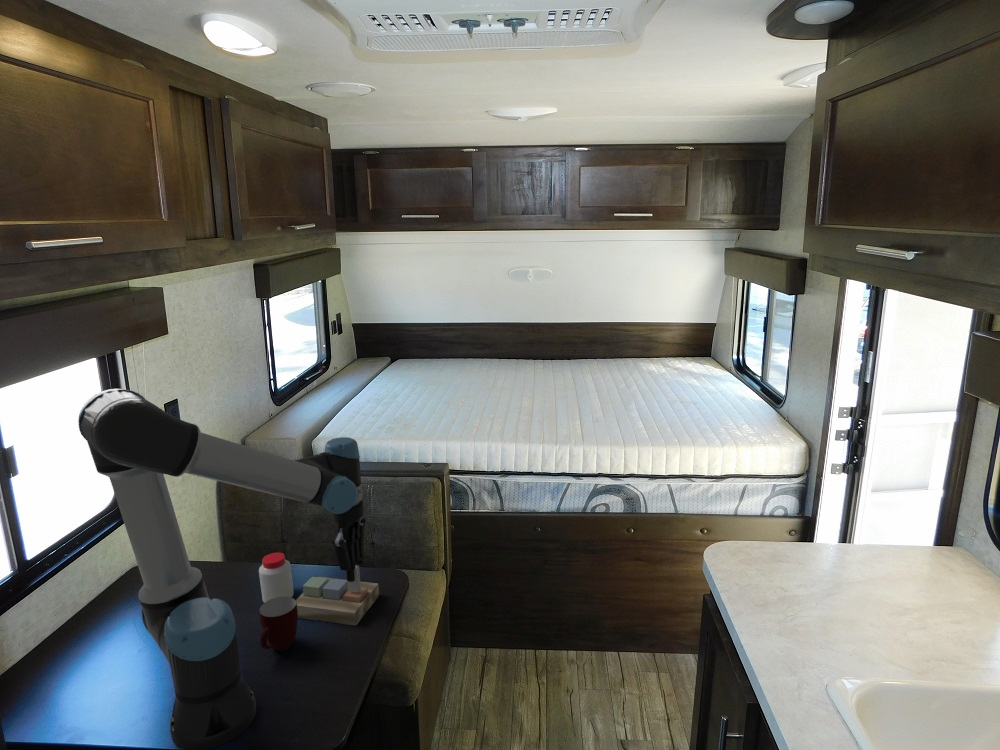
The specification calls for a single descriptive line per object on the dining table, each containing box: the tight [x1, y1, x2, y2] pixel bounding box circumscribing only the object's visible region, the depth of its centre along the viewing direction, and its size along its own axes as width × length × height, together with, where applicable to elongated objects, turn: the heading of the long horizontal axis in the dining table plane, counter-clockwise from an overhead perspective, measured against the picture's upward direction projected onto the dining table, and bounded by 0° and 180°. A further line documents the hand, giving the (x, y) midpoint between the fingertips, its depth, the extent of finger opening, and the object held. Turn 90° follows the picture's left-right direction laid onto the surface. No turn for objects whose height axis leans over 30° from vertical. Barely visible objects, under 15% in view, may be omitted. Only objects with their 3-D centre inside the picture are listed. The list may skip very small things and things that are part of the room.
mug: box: [258, 597, 298, 652], centre depth 142 cm, size 11×8×10 cm
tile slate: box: [323, 578, 348, 601], centre depth 158 cm, size 4×4×3 cm
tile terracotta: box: [343, 587, 368, 603], centre depth 157 cm, size 4×4×3 cm
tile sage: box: [302, 576, 328, 598], centre depth 160 cm, size 4×4×3 cm
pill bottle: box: [258, 552, 295, 604], centre depth 163 cm, size 8×8×11 cm
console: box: [295, 576, 380, 626], centre depth 159 cm, size 13×17×3 cm
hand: (354, 590), depth 157 cm, fingers closed
